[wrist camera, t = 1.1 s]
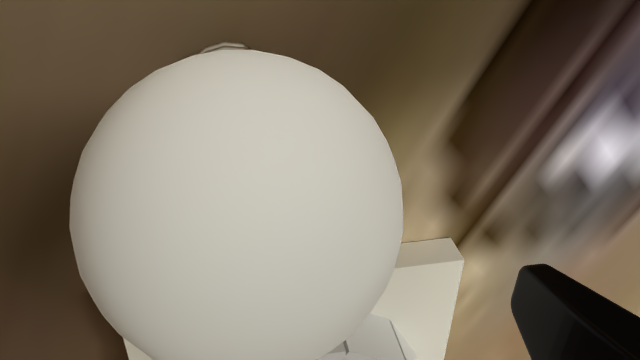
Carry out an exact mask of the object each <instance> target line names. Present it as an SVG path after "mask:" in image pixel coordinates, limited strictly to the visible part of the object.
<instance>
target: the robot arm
mask: <svg viewBox="0 0 640 360" xmlns="http://www.w3.org/2000/svg"><path fill="white" fill-rule="evenodd" d="M511 309H512V313H513V316H514V318H515V321H516V323H517V326H518V328H519V331H520V333H521V335H522V338H523V340H524V343H525V345H526V348H527V350H528V353H529V355H530V357H531V360H640V317H638V316H636V315H635V314H633V313H631V312H629V311H628V310H626V309H624V308H622V307H621V306H619V305H617V304H615V303H614V302H612V301H610V300H609V299H607V298H605V297H603V296H602V295H600V294H598V293H596V292H595V291H593V290H591V289H589V288H588V287H586V286H584V285H582V284H581V283H579V282H577V281H575V280H574V279H572V278H570V277H568V276H567V275H565V274H563V273H561V272H560V271H558V270H556V269H554V268H553V267H551V266H549V265H547V264H535V265H527V266H523V267H522V268H521V269H520V271H519V273H518V277H517V280H516V284H515V287H514V291H513V294H512V298H511Z"/></svg>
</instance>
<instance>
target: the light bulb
mask: <svg viewBox="0 0 640 360" xmlns="http://www.w3.org/2000/svg"><path fill="white" fill-rule="evenodd" d="M69 228H70V233H71V239H72V244H73V249H74V253H75V257H76V262H77V266H78V270H79V274H80V277H81V279H82V280H83V282H84V284H85V286H86V288H87V290H88V292H89V294H90V296H91V297H92V299H93V301H94V302H95V304H96V306H97V307H98V309H99V310H100V312H101V314H102V315H103V317H104V318H105V319H106V320H107V321H108V322H109V323H110V325H111V326H112V327H113V328H114V329H115V330H116V331H117V333H118V334H119V335H121V336H122V337H123V338H125V339H126V340H127V341H129V342H130V343H131V344H133V345H134V346H135V347H137V348H138V349H139V350H141V351H142V352H144V353H145V354H146V355H148V356H149V357H150V358H152V359H153V360H316V359H317V358H319V357H321V356H323V355H325V354H327V353H328V352H330V351H331V350H333V349H334V348H335V347H337V346H338V345H339V344H341V343H342V342H344V341H345V340H346V339H347V338H348V337H349V336H350V335H351V334H352V333H353V332H354V331H355V330H356V329H357V328H358V327H359V326H360V325H361V324H362V323H363V322H364V320H365V319H366V317H367V316H368V315H369V313H370V312H371V311H372V309H373V308H374V306H375V305H376V303H377V302H378V300H379V299H380V297H381V296H382V295H383V293H384V292H385V290H386V287H387V285H388V283H389V280H390V278H391V275H392V273H393V271H394V268H395V264H396V261H397V257H398V254H399V250H400V245H401V239H402V234H403V229H404V224H403V202H402V183H401V180H400V177H399V173H398V170H397V167H396V163H395V160H394V157H393V154H392V152H391V149H390V147H389V144H388V142H387V140H386V138H385V137H384V135H383V133H382V131H381V130H380V128H379V126H378V125H377V123H376V121H375V119H374V118H373V117H372V116H371V115H370V114H369V112H368V111H367V110H366V109H365V108H364V107H363V106H362V105H361V104H360V103H359V102H358V101H357V100H356V99H355V98H354V97H353V96H352V95H351V93H350V92H349V91H348V90H347V89H346V88H345V87H344V86H343V85H341V84H340V83H338V82H337V81H335V80H334V79H332V78H331V77H329V76H328V75H326V74H325V73H324V72H322V71H321V70H319V69H317V68H314V67H312V66H310V65H307V64H305V63H302V62H300V61H297V60H295V59H292V58H290V57H286V56H282V55H276V54H271V53H266V52H261V51H256V50H251V49H250V48H249V47H248V46H247V45H245V44H244V43H241V42H229V41H222V42H219V43H216V44H213V45H209V46H206V47H204V48H203V49H202V50H201V51H200V52H198V53H197V54H196V55H193V56H190V57H188V58H185V59H183V60H180V61H178V62H175V63H173V64H170V65H168V66H166V67H163V68H161V69H158V70H156V71H154V72H153V73H151V74H150V75H148V76H147V77H145V78H144V79H142V80H141V81H139V82H138V83H136V84H135V85H133V86H132V87H130V88H129V89H128V90H127V91H126V92H125V93H124V94H123V95H122V96H121V97H120V98H119V99H118V100H117V101H116V102H115V103H114V104H113V105H112V106H111V108H110V109H109V110H108V111H107V112H106V114H105V115H104V117H103V118H102V120H101V121H100V123H99V124H98V126H97V127H96V129H95V131H94V132H93V134H92V136H91V137H90V139H89V141H88V142H87V144H86V146H85V148H84V149H83V151H82V154H81V157H80V161H79V164H78V167H77V171H76V174H75V177H74V181H73V187H72V193H71V198H70V225H69Z"/></svg>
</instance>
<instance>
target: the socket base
mask: <svg viewBox="0 0 640 360" xmlns="http://www.w3.org/2000/svg"><path fill="white" fill-rule="evenodd" d="M463 264H464V259H463V257H462V255H461V254H460V252H459V251H458V249H457V247H456V246H455V244H454V243H453V241H452V240H451V238H443V239H434V240H425V241H417V242H408V243H401V245H400V250H399V254H398V257H397V261H396V264H395V268H394V271H393V273H392V275H391V278H390V280H389V283H388V285H387V287H386V290H385V292H384V293H383V295H382V296H381V297H380V299H379V300H378V302H377V303H376V305H375V306H374V308H373V309H372V311H371V312H370V313H369V315H368V316H367V317H366V319H365V320H364V322H363V323H362V324H361V325H360V326H359V327H358V328H357V329H356V330H355V331H354V332H353V333H352V334H351V335H350V336H349V337H348V338H347V339H346V340H345V341H344V342H342V343H341V344H339V345H338V346H337V347H335V348H334V349H333V350H331V351H330V352H328V353H327V354H325V355H323V356H321V357H319V358H317V359H316V360H444V356H445V351H446V346H447V341H448V336H449V332H450V327H451V322H452V317H453V312H454V307H455V303H456V298H457V293H458V288H459V283H460V279H461V274H462V269H463ZM123 340H124V343H125V347H126V350H127V354H128V358H129V360H153V359H152V358H150V357H149V356H148V355H146V354H145V353H144V352H142V351H141V350H139V349H138V348H137V347H135V346H134V345H133V344H131V343H130V342H129V341H127V340H126V339H125V338H123Z"/></svg>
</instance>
